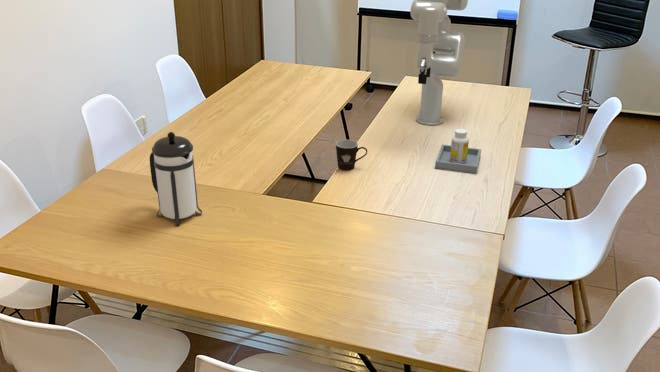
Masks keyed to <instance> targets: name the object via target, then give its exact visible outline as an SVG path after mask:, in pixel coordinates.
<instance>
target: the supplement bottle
mask: <svg viewBox="0 0 660 372" xmlns="http://www.w3.org/2000/svg"><path fill="white" fill-rule="evenodd" d="M454 130H455V131H454V135H453V136H452V137H451V143H450V145H451V153H450V160H451V161H452V162H453V163H460V164H462V163H465V162H466V161H467V153H468V148H469V145H470V144H469V141H470V140H469V137H468V136H467V134H468V131H467V129H464V128H456V129H454Z"/></svg>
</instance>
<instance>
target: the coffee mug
mask: <svg viewBox="0 0 660 372" xmlns="http://www.w3.org/2000/svg"><path fill="white" fill-rule="evenodd" d="M358 146H359V143H358V141H356V140H352V139H340V140H337V141H336V142H335V151H336V161H337V169H338V170H339V171H340V170H341V171H344V172H348V171H349V172H351V171H353V170H354V169H355V165H356V162H358V161H360V160H361V159H363V158H364V157H365V156H367V154H368V149H367V147H364V146H360V147H358ZM361 149H363V150H365V154H363V155H362V156H360V157H358V158H357V153H358V151H360V150H361Z"/></svg>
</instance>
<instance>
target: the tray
mask: <svg viewBox="0 0 660 372" xmlns="http://www.w3.org/2000/svg"><path fill="white" fill-rule="evenodd" d="M450 153H451V144H450V145H448V144H441V146H440V148H439V152H438V153H437V156H436V160H435V164H434V165H435V166H434V169H436V170H445V171H451V172H458V173H459V172H461V173H466V174H467V173H468V174H475V175H476V174H478V173H477V172H478V169H479V164H480V159H481V154H482V148H474V147H468V153H467V161H466V162H465V163H462V164H460V163H453V162H452V161H451V160H450Z"/></svg>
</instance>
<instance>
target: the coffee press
mask: <svg viewBox="0 0 660 372" xmlns="http://www.w3.org/2000/svg"><path fill="white" fill-rule="evenodd" d="M193 150H194V145H193V144H192V142H191V141H190V140H189V138H186V137H185V136H184V137H183V136H181V135H176V134H175V132H172V131H170V132H168V133H167V136H164V137H161V138H159V139H157V140H156V141H155V142H154V144H153V146H152V147H151V153H150V155H149V167H150V168H149V169H150V176H151V182H152V186H153V189H154V190H155V192H156V193H157V199H158V207H159V210H158V211H157V212H156V217H157V218H161V217H162V216H164V217H165V218H168V219H170V220H174V224H175V226H179V227H180V226H181V225H180V224H181V222H180V221H181V220H182V219H186V218H188V217H191V216H193V215H194V214H196V215H197V216H199V217H200V216H202V214H203V210H202V209H201V208H200V206H199V204H198V203H199V202H198V192H197V182H196V170H195V162H194V161H195V160H194V155H193ZM198 211H199V212H198ZM159 212H160V214H159Z"/></svg>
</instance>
